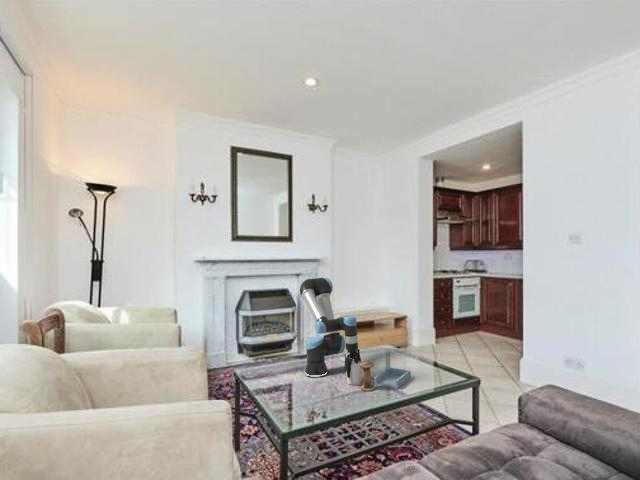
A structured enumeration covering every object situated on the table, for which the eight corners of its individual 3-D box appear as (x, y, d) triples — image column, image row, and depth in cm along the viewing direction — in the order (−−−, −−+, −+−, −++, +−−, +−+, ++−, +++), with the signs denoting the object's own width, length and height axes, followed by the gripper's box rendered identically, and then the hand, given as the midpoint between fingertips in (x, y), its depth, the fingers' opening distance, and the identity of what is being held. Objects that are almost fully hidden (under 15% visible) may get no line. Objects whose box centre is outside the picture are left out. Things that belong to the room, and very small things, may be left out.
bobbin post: (358, 389, 197) (356, 365, 197) (365, 385, 203) (363, 361, 204) (370, 392, 192) (369, 367, 193) (377, 387, 198) (375, 362, 199)
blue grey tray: (374, 384, 203) (374, 377, 203) (389, 374, 219) (388, 367, 219) (397, 389, 194) (397, 381, 194) (410, 377, 210) (410, 370, 211)
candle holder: (361, 385, 203) (360, 365, 203) (345, 385, 205) (343, 364, 205) (362, 379, 212) (361, 359, 213) (347, 379, 214) (345, 359, 215)
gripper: (347, 347, 199) (350, 387, 198) (365, 338, 216) (368, 375, 215) (336, 346, 203) (339, 384, 202) (355, 337, 221) (357, 373, 220)
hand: (354, 379), depth 209 cm, fingers closed on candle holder, 9 cm apart
